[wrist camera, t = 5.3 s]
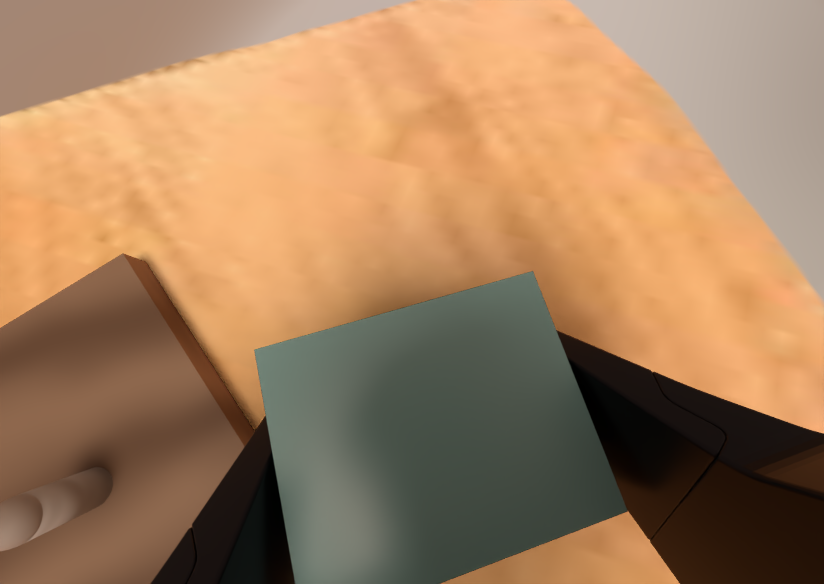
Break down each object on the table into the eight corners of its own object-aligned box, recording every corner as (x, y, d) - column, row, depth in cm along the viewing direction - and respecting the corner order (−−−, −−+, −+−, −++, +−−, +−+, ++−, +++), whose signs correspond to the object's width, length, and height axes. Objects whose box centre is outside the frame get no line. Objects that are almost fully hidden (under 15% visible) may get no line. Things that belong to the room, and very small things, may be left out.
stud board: (333, 554, 15) (298, 655, 10) (89, 773, 13) (-114, 1047, 8) (145, 261, 18) (44, 224, 13) (-78, 400, 16) (-306, 421, 11)
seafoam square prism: (495, 421, 15) (627, 511, 6) (363, 465, 14) (304, 635, 6) (460, 317, 16) (533, 271, 7) (337, 354, 15) (254, 350, 7)
